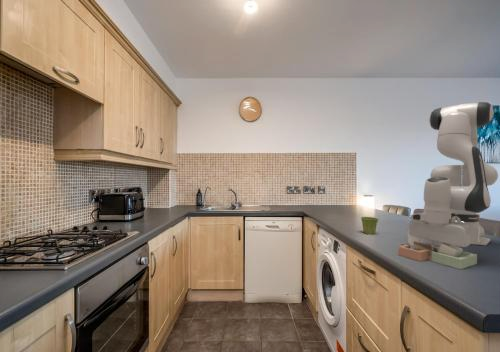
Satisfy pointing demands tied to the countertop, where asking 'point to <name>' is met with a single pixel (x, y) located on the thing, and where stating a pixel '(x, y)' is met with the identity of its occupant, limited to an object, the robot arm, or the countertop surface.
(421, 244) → the brown piece
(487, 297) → the countertop surface
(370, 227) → the plant pot
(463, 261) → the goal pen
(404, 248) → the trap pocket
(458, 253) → the block
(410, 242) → the beige cube
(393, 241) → the countertop surface
